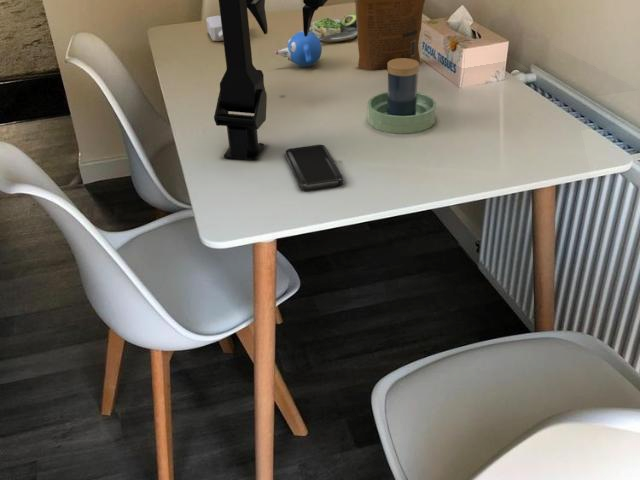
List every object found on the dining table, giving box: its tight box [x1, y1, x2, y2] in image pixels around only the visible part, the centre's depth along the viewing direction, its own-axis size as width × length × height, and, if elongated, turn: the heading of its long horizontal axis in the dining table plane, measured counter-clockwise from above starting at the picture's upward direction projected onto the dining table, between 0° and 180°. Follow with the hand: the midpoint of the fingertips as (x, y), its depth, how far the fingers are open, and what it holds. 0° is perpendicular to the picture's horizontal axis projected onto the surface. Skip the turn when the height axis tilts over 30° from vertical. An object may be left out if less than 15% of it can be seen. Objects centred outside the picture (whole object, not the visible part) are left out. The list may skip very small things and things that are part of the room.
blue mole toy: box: [274, 31, 323, 68], centre depth 168 cm, size 12×12×8 cm
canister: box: [386, 58, 420, 116], centre depth 137 cm, size 6×6×12 cm
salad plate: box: [301, 13, 357, 44], centre depth 190 cm, size 19×18×5 cm
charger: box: [205, 15, 223, 42], centre depth 190 cm, size 5×9×15 cm
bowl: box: [366, 91, 437, 135], centre depth 139 cm, size 14×14×4 cm
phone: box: [285, 144, 344, 192], centre depth 124 cm, size 8×1×15 cm
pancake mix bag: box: [354, 0, 426, 71], centre depth 161 cm, size 7×19×28 cm, turn 102°
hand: (285, 34), depth 145 cm, fingers open, 9 cm apart
